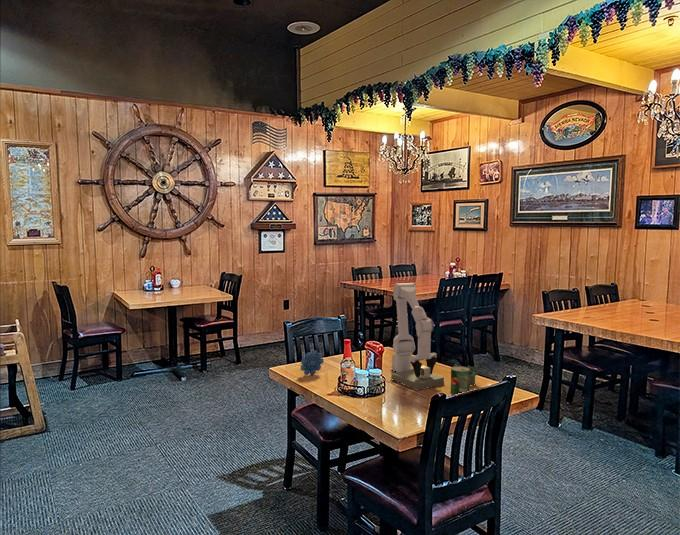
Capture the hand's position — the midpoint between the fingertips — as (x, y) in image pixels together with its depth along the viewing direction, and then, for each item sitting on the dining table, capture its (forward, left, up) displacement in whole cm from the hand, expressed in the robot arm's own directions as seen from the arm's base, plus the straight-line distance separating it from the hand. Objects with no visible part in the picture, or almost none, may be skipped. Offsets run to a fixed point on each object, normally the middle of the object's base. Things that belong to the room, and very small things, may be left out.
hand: (423, 375), depth 227 cm
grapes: (-42, -34, -4) cm, 54 cm away
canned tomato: (+18, +4, -4) cm, 19 cm away
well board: (-4, 0, -4) cm, 6 cm away
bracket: (+10, +17, -4) cm, 20 cm away
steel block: (0, 0, -4) cm, 4 cm away
